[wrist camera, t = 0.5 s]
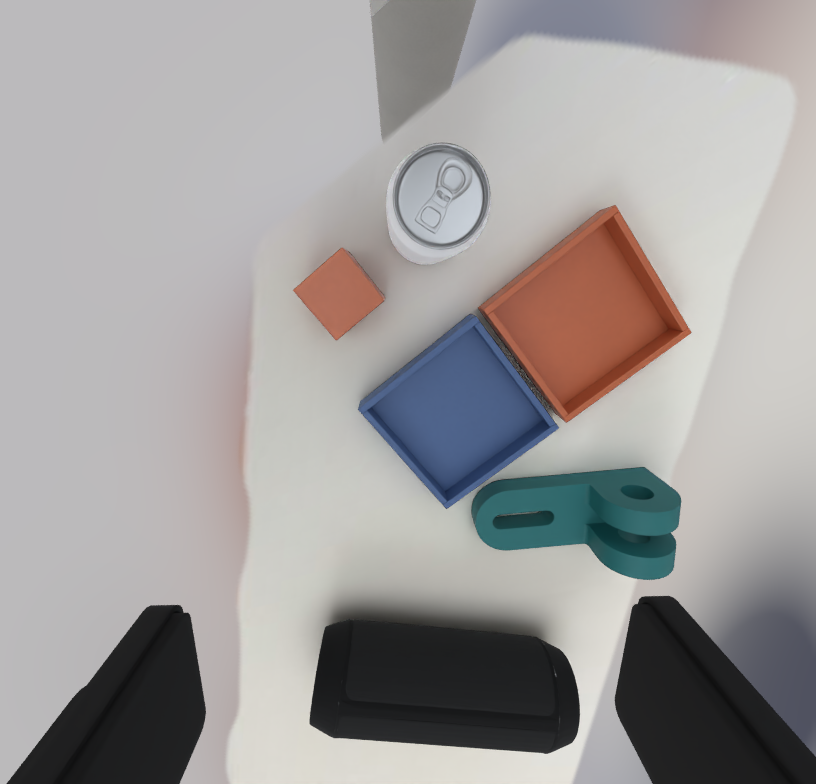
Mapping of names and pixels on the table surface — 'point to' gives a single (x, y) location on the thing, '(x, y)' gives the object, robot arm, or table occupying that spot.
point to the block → (339, 293)
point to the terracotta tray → (586, 315)
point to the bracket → (586, 517)
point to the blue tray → (458, 412)
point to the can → (437, 203)
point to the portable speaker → (443, 688)
